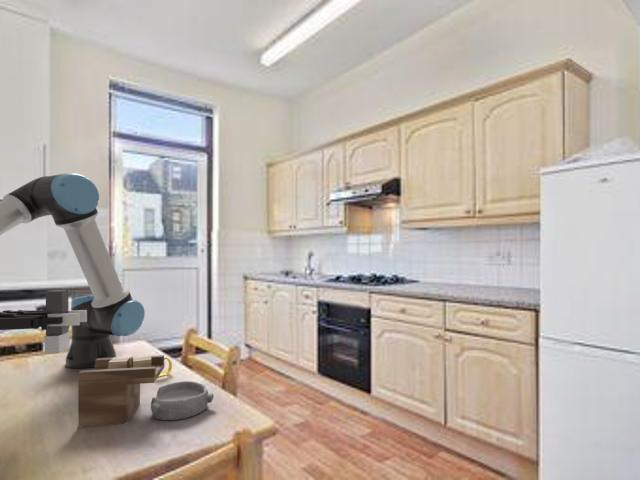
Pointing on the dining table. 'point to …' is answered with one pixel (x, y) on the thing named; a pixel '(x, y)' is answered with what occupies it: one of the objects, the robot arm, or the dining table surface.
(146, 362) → the cream block
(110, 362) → the cream square block
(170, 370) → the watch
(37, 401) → the dining table surface
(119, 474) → the dining table surface
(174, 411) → the dish
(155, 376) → the slot board
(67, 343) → the dark gray upright block
